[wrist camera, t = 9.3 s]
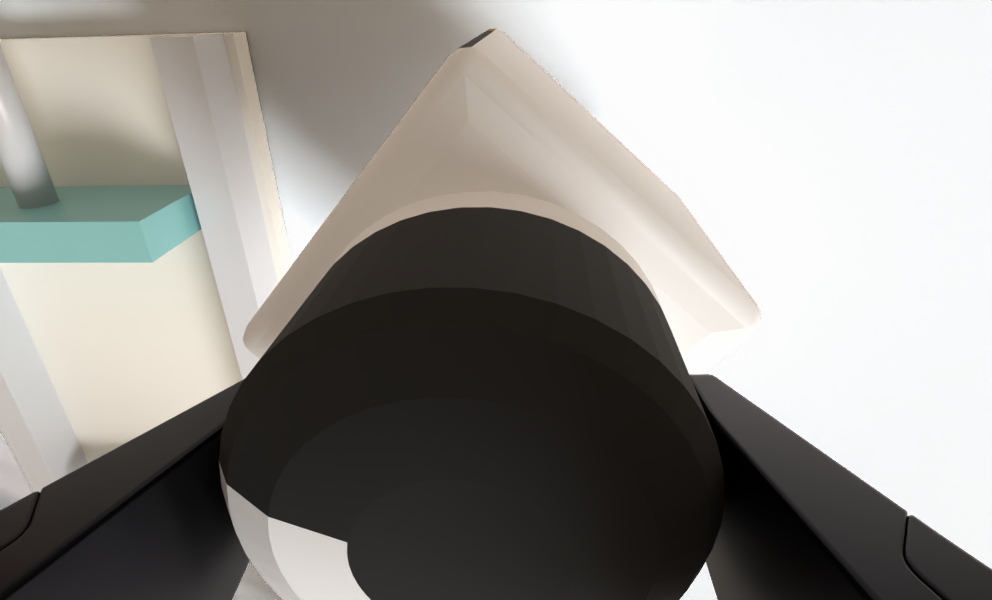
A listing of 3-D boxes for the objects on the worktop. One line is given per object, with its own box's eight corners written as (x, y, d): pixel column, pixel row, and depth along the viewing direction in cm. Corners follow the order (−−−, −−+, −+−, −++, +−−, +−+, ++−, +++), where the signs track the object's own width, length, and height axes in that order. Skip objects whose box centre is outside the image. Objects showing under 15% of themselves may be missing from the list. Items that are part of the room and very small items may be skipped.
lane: (332, 460, 25) (312, 504, 23) (71, 454, 26) (28, 496, 24) (245, 31, 18) (203, 36, 16) (-121, 42, 19) (-210, 48, 16)
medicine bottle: (493, 21, 15) (382, 74, 4) (685, 201, 17) (952, 564, 6) (340, 222, 18) (33, 566, 7) (519, 358, 19) (497, 799, 9)
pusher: (213, 220, 19) (152, 262, 16) (-24, 221, 20) (-128, 262, 17) (138, -72, 16) (39, -90, 13) (-152, -60, 16) (-315, -74, 13)
